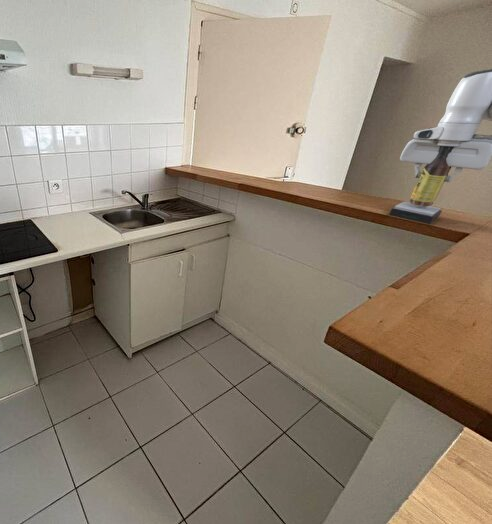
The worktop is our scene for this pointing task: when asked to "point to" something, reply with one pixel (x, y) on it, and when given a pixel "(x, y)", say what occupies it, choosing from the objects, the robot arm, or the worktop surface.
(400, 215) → the kitchen scale
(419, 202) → the sauce bottle
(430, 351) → the worktop surface
